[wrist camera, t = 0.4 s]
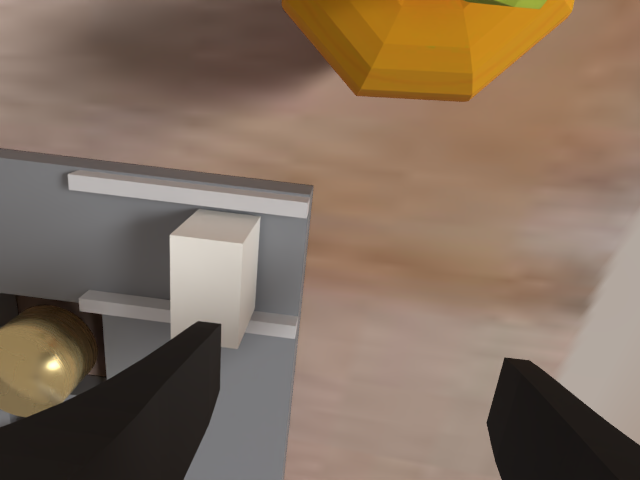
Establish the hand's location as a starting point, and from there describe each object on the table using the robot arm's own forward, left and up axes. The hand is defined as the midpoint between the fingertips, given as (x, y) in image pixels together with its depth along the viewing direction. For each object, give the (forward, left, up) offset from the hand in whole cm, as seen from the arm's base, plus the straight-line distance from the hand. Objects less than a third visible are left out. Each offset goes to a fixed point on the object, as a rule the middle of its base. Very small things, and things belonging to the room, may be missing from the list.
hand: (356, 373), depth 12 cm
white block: (0, +5, -7) cm, 9 cm away
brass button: (-6, +13, -7) cm, 16 cm away
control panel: (-7, +10, -9) cm, 15 cm away
